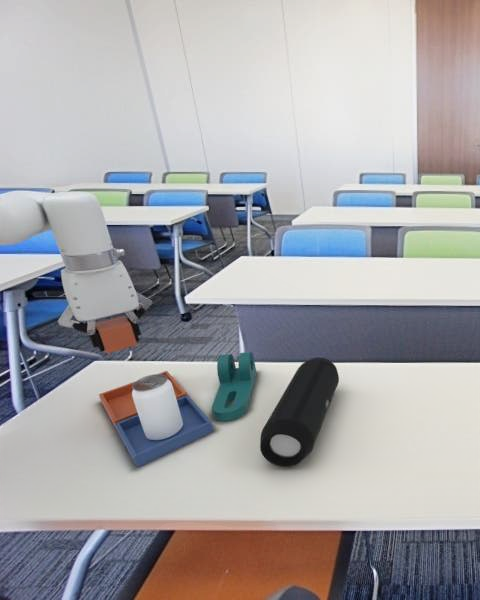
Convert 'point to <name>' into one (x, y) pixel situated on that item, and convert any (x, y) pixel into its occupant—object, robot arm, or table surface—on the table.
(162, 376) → the can
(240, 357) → the bracket
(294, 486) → the table surface
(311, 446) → the portable speaker
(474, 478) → the table surface
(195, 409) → the blue tray
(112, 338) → the block
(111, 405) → the terracotta tray
